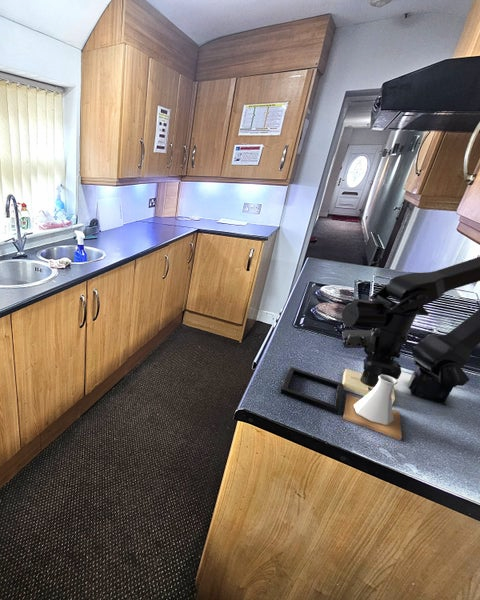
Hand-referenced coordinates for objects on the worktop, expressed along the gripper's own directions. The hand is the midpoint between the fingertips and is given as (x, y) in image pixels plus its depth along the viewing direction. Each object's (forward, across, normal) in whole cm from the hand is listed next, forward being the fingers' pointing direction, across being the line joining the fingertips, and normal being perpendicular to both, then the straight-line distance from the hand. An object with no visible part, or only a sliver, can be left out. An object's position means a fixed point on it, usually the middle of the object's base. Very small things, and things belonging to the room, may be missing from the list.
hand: (369, 381), depth 85 cm
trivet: (+2, +12, +1) cm, 12 cm away
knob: (0, 0, 0) cm, 0 cm away
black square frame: (+2, +10, -11) cm, 15 cm away
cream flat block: (+2, 0, 0) cm, 2 cm away
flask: (+2, +12, +1) cm, 12 cm away
